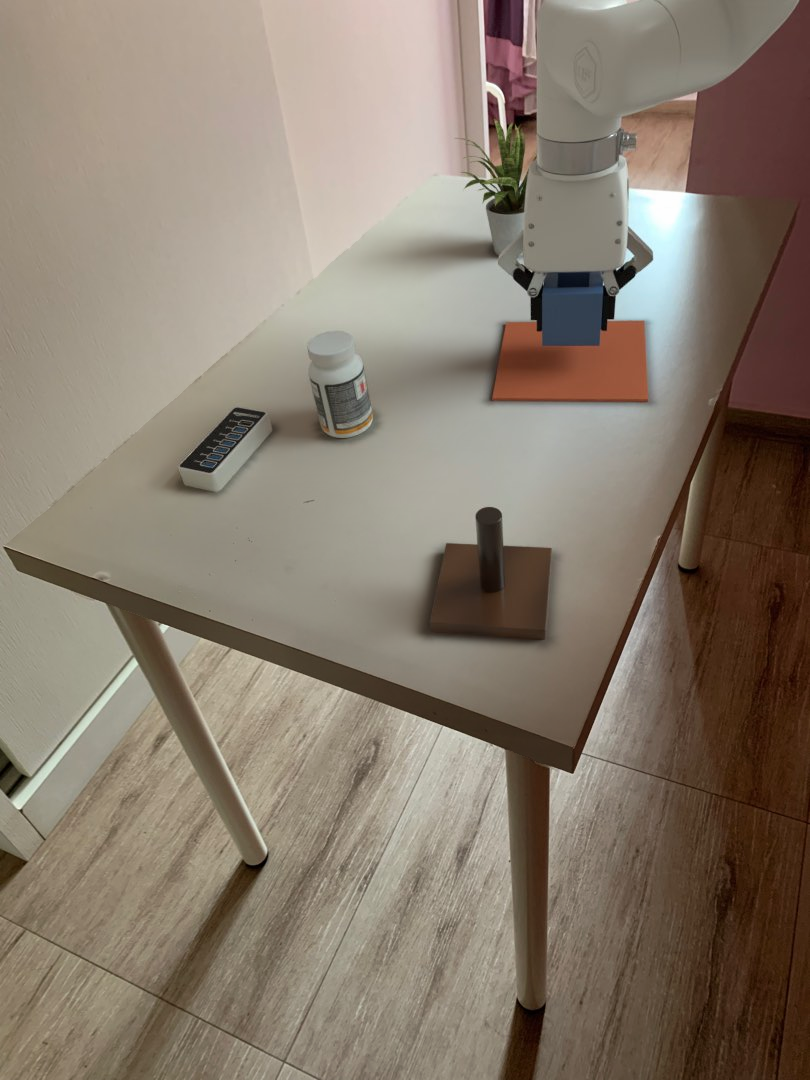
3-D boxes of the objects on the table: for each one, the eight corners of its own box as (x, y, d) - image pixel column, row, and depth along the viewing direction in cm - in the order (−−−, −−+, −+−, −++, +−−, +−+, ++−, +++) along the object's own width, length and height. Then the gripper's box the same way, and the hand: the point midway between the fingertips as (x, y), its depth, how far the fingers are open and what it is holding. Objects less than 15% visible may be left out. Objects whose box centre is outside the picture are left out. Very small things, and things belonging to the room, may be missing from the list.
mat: (644, 323, 94) (644, 320, 94) (648, 402, 83) (648, 399, 83) (506, 325, 97) (506, 322, 97) (492, 401, 86) (492, 398, 86)
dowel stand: (551, 557, 69) (552, 478, 63) (545, 640, 62) (546, 561, 56) (447, 552, 70) (438, 475, 65) (430, 632, 64) (419, 554, 58)
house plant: (443, 238, 117) (433, 117, 106) (532, 217, 119) (531, 96, 108) (476, 279, 107) (469, 149, 96) (574, 255, 109) (577, 125, 97)
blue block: (600, 317, 89) (603, 265, 85) (599, 346, 85) (602, 293, 81) (545, 317, 90) (545, 267, 86) (541, 346, 86) (542, 294, 82)
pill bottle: (381, 411, 87) (367, 329, 80) (362, 443, 83) (346, 359, 77) (333, 406, 89) (316, 325, 82) (312, 437, 85) (292, 355, 78)
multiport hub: (182, 485, 82) (175, 467, 80) (240, 423, 89) (234, 405, 87) (218, 493, 80) (211, 475, 79) (274, 429, 87) (269, 411, 86)
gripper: (673, 130, 76) (653, 306, 88) (489, 140, 79) (495, 308, 92) (677, 160, 70) (656, 343, 83) (480, 169, 74) (488, 343, 86)
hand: (571, 323), depth 87 cm, fingers closed on blue block, 6 cm apart
